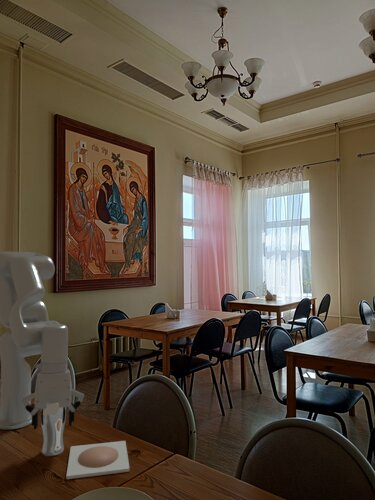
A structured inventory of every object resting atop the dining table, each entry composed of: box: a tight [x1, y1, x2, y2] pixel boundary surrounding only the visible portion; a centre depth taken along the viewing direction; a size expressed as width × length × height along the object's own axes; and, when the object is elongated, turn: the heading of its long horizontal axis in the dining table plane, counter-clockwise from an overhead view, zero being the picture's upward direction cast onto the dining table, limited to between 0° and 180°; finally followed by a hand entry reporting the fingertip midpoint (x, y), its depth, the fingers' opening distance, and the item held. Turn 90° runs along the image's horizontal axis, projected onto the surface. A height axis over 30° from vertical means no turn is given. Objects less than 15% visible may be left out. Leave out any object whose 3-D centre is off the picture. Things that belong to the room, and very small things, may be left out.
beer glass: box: [40, 402, 67, 457], centre depth 110 cm, size 7×7×15 cm
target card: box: [65, 440, 131, 480], centre depth 105 cm, size 16×16×1 cm
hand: (53, 425), depth 110 cm, fingers open, 9 cm apart
